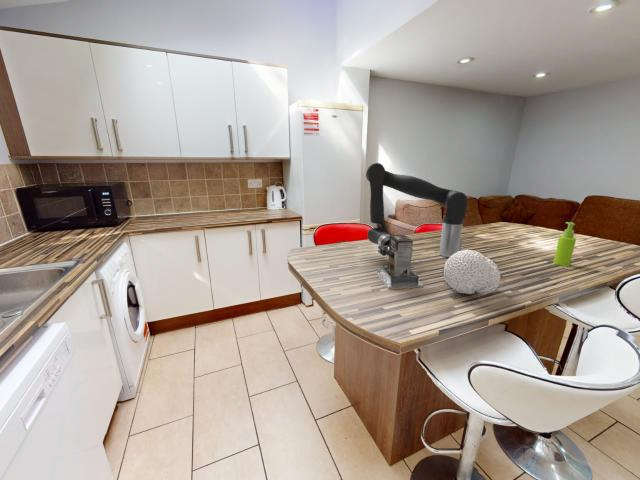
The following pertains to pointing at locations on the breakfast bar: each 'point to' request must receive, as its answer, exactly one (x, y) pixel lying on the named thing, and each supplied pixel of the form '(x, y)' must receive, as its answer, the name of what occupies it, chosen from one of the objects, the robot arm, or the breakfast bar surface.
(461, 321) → the breakfast bar surface
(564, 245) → the soap dispenser
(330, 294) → the breakfast bar surface
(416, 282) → the clip bracket
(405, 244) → the coffee box
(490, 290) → the white coral
